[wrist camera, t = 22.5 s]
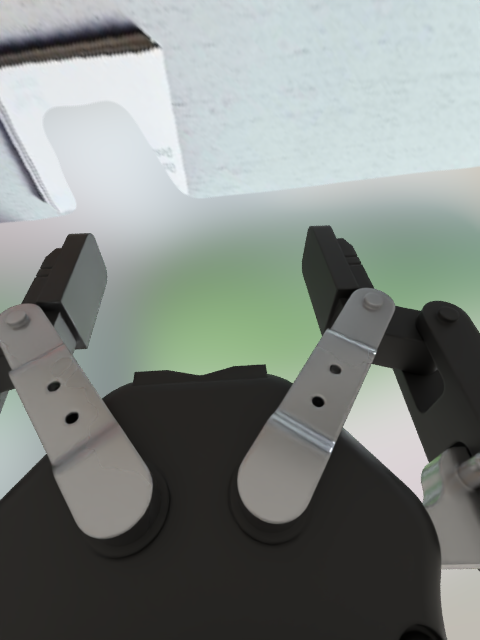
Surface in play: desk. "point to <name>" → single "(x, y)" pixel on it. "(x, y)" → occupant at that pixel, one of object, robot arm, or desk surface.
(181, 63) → the desk surface
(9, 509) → the robot arm
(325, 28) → the desk surface
